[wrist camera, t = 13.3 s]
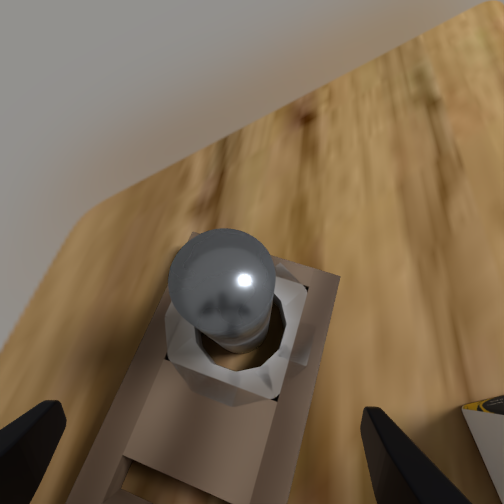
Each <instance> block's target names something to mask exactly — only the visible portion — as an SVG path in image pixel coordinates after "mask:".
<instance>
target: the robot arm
mask: <svg viewBox="0 0 504 504" xmlns="http://www.w3.org/2000/svg"><path fill="white" fill-rule="evenodd" d="M65 427H66V417H65V414H64V411H63V408H62V405H61V403H60V402H59V401H58V400H45V401H43V402H41V403H39V404H38V405H36V406H35V407H33V408H32V409H31V410H29V411H28V412H26V413H25V414H23V415H22V416H20V417H19V418H17V419H16V420H14V421H13V422H11V423H10V424H8V425H7V426H6V427H4V428H3V429H1V430H0V504H29V503H30V502H31V500H32V498H33V496H34V494H35V492H36V490H37V489H38V487H39V485H40V483H41V480H42V478H43V476H44V474H45V472H46V470H47V467H48V465H49V463H50V461H51V459H52V456H53V454H54V452H55V450H56V447H57V445H58V443H59V441H60V439H61V436H62V434H63V432H64V430H65ZM360 429H361V437H362V441H363V446H364V450H365V454H366V459H367V463H368V468H369V472H370V477H371V481H372V486H373V490H374V494H375V498H376V501H377V504H472V503H471V502H470V501H469V500H468V499H467V498H466V497H465V496H464V495H463V494H462V493H461V491H460V490H459V489H458V488H457V487H456V486H455V485H454V484H453V483H452V482H451V481H450V480H449V479H448V478H447V477H446V476H445V475H444V474H443V473H442V472H441V471H440V470H439V469H438V467H437V466H436V465H435V464H434V463H433V462H432V461H431V460H430V459H429V458H428V457H427V456H426V455H425V454H424V453H423V452H422V451H421V450H420V449H419V448H418V447H417V446H416V445H415V443H414V442H413V441H412V440H411V439H410V438H409V437H408V436H407V435H406V434H405V433H404V432H403V431H402V430H401V429H400V428H399V427H398V426H397V425H396V424H395V423H394V422H393V421H392V419H391V418H390V417H389V416H388V415H387V414H386V413H385V412H384V411H383V410H382V409H381V408H379V407H365V408H364V410H363V416H362V421H361V427H360Z"/></svg>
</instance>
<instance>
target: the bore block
mask: <svg viewBox="0 0 504 504" xmlns="http://www.w3.org/2000/svg"><path fill="white" fill-rule="evenodd" d="M197 235H199V233H196V232H192V234H191V236H190V238H189V240H188V241H190V240H191V239H192V238H194V237H195V236H197ZM270 256H271V258H272V260H273V263H274V267H275V273H276V281H275V289H274V296H273V302H274V303H275V304H276V305H277V307H278V308H279V310H280V315H281V319H282V323H283V327H284V331H283V335H282V338H281V342H280V345H279V349H278V351H277V352H276V353H275V354H274V355H272V356H271V357H270V358H269V359H268V360H267V361H266V362H265V363H264V364H263V365H262V366H261V367H257V368H252V369H247V370H242V371H238V372H235V371H233V370H230V369H227V368H225V367H222V366H219V365H217V364H216V363H215V362H214V361H213V359H212V358H211V357H210V355H209V354H208V353H207V351H206V350H205V349H204V348H203V345H202V337H201V331H200V330H199V329H197V328H196V327H194V326H193V325H192V324H190V323H189V322H188V321H186V320H185V319H184V318H183V317H182V316H181V315H180V314H179V313H178V311H177V310H176V308H175V307H174V305H173V303H172V301H171V298H170V294H169V289H168V285H167V287H166V290H165V292H164V294H163V296H162V298H161V300H160V302H159V304H158V307H157V309H156V311H155V313H154V315H153V317H152V319H151V322H150V324H149V326H148V328H147V330H146V332H145V334H144V337H143V339H142V341H141V343H140V345H139V347H138V349H137V351H136V354H135V356H134V358H133V360H132V362H131V364H130V366H129V369H128V371H127V373H126V375H125V377H124V379H123V381H122V383H121V386H120V388H119V390H118V392H117V394H116V396H115V398H114V401H113V403H112V405H111V407H110V409H109V411H108V413H107V416H106V418H105V420H104V422H103V424H102V426H101V428H100V430H99V433H98V435H97V437H96V439H95V441H94V443H93V445H92V448H91V450H90V452H89V454H88V456H87V458H86V460H85V462H84V465H83V467H82V469H81V471H80V473H79V475H78V477H77V480H76V482H75V484H74V486H73V488H72V490H71V492H70V494H69V497H68V499H67V501H66V503H65V504H153V503H150V502H148V501H146V500H144V499H142V498H140V497H138V496H135V495H133V494H131V493H129V492H127V491H125V490H122V489H121V487H122V484H123V482H124V480H125V477H126V475H127V472H128V470H129V468H130V465H131V463H132V460H135V461H137V462H140V463H142V464H144V465H146V466H149V467H151V468H153V469H155V470H158V471H160V472H162V473H164V474H167V475H169V476H171V477H173V478H176V479H178V480H180V481H182V482H185V483H187V484H189V485H191V486H194V487H196V488H198V489H200V490H203V491H205V492H207V493H209V494H212V495H214V496H216V497H218V498H221V499H223V500H225V501H227V502H230V503H232V504H287V502H288V497H289V493H290V489H291V485H292V480H293V476H294V472H295V468H296V463H297V459H298V455H299V451H300V446H301V442H302V438H303V434H304V429H305V425H306V421H307V417H308V412H309V408H310V404H311V400H312V395H313V391H314V387H315V383H316V378H317V374H318V370H319V366H320V361H321V357H322V353H323V349H324V344H325V340H326V336H327V332H328V327H329V323H330V319H331V315H332V310H333V306H334V302H335V298H336V293H337V289H338V285H339V281H340V276H338V275H334V274H331V273H328V272H324V271H321V270H318V269H315V268H311V267H308V266H305V265H301V264H298V263H295V262H291V261H288V260H285V259H281V258H278V257H275V256H272V255H270ZM274 396H275V397H276V399H273V398H275V397H274Z"/></svg>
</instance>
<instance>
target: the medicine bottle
mask: <svg viewBox="0 0 504 504" xmlns="http://www.w3.org/2000/svg"><path fill="white" fill-rule="evenodd" d="M462 412H463V415H464V417H465V419H466V421H467V424H468V426H469V428H470V431H471V433H472V435H473V438H474V440H475V442H476V444H477V447H478V449H479V451H480V454H481V456H482V458H483V461H484V463H485V465H486V467H487V470H488V472H489V474H490V477H491V479H492V481H493V484H494V486H495V488H496V490H497V493H498V495H499V497H500V500H501V502H502V504H504V396H499V397H495V398H491V399H487V400H483V401H479V402H474V403H470V404H466V405H464V406H462Z"/></svg>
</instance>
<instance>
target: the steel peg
mask: <svg viewBox="0 0 504 504" xmlns="http://www.w3.org/2000/svg"><path fill="white" fill-rule="evenodd" d="M275 281H276V273H275V267H274V263H273V260H272V258H271V256H270V254H269V252H268V251H267V249H266V248H265V247H264V246H263V244H262V243H261V242H259V241H258V240H257V239H256V238H254V237H253V236H251V235H249V234H247V233H245V232H242V231H239V230H235V229H214V230H210V231H206V232H204V233H201V234H199V235H197V236H195V237H194V238H192V239H191V240H190V241H188V242H187V243H186V244H185V245H184V246H183V247H182V248H181V249H180V250H179V252H178V253H177V255H176V256H175V258H174V260H173V262H172V265H171V267H170V271H169V277H168V289H169V294H170V298H171V301H172V303H173V305H174V307H175V308H176V310H177V311H178V313H179V314H180V315H181V316H182V317H183V318H184V319H185V320H186V321H188V322H189V323H190V324H192V325H193V326H194V327H196V328H197V329H199V330H200V331H201V332H203V333H204V334H205V335H207V336H208V337H209V338H211V339H212V340H214V341H215V342H216V343H218V344H219V345H220V346H222V347H223V348H225V349H226V350H228V351H230V352H233V353H248V352H251V351H253V350H255V349H256V348H258V347H259V346H260V345H261V344H262V343H263V341H264V340H265V338H266V336H267V333H268V328H269V322H270V315H271V309H272V302H273V296H274V289H275Z"/></svg>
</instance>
